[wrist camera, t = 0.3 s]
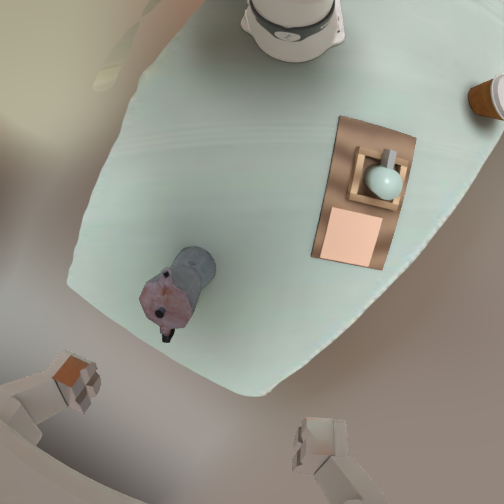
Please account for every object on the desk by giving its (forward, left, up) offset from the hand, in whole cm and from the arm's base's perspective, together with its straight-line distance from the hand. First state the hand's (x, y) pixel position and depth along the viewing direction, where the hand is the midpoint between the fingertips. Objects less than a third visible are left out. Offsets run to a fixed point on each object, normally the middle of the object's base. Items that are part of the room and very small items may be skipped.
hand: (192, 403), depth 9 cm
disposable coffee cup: (-28, +39, -46) cm, 67 cm away
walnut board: (-1, +17, -46) cm, 49 cm away
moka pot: (+20, -13, -47) cm, 52 cm away
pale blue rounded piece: (-7, +18, -45) cm, 49 cm away
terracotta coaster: (+7, +16, -45) cm, 48 cm away
